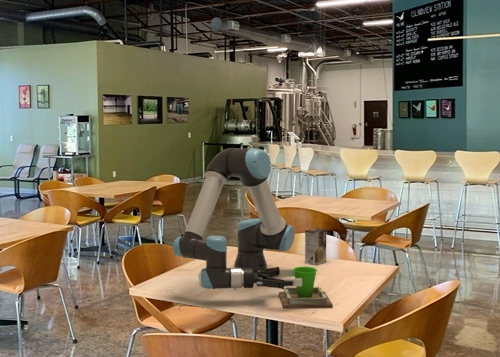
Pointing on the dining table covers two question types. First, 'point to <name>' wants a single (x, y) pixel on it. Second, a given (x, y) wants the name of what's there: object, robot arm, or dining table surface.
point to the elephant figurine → (200, 276)
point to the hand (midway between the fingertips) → (299, 277)
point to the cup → (305, 280)
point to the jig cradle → (304, 299)
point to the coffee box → (315, 246)
